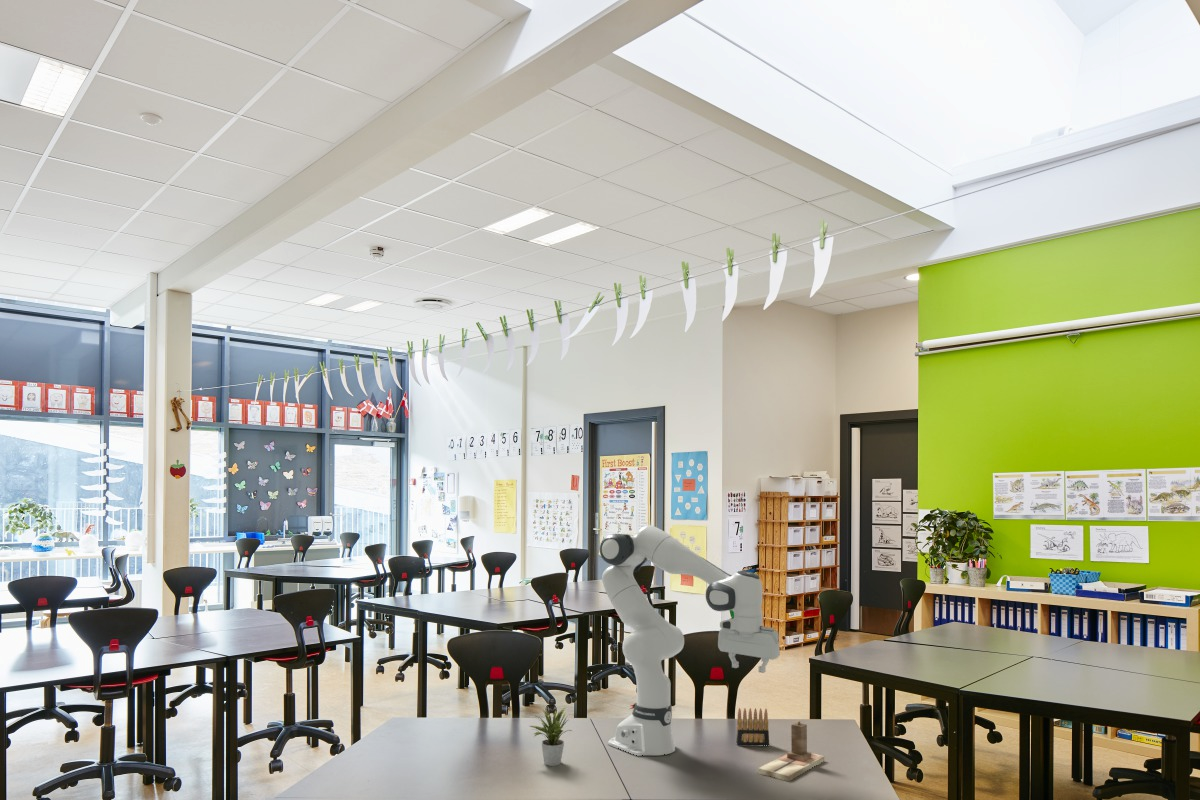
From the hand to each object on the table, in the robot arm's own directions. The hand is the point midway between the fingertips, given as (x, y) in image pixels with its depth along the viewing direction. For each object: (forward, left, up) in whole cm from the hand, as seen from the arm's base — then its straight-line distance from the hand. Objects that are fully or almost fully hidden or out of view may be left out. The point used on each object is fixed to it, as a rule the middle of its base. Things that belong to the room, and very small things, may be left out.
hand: (748, 669), depth 261 cm
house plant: (-48, -37, -29) cm, 67 cm away
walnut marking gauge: (+10, +14, -27) cm, 32 cm away
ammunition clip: (-10, +20, -29) cm, 37 cm away
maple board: (+10, +9, -29) cm, 32 cm away
